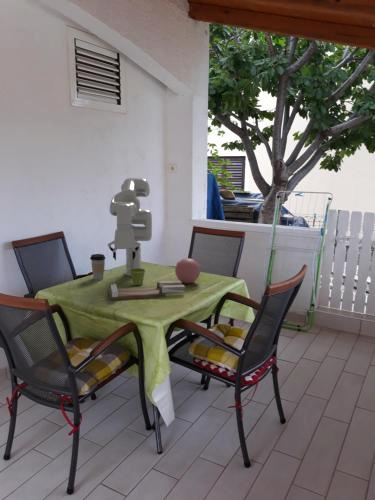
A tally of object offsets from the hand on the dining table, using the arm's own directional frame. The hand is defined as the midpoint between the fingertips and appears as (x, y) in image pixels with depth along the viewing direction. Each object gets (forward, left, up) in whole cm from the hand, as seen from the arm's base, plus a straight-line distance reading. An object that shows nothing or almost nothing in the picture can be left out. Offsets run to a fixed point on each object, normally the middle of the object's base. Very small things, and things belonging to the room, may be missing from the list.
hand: (124, 259), depth 216 cm
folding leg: (-3, -5, -19) cm, 21 cm away
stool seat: (-5, +13, -22) cm, 26 cm away
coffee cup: (-39, -13, -22) cm, 46 cm away
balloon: (-24, +40, -22) cm, 51 cm away
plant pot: (-24, +10, -22) cm, 34 cm away
